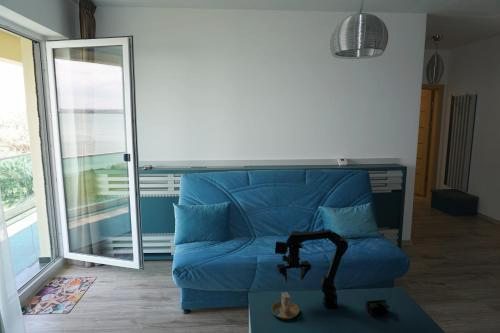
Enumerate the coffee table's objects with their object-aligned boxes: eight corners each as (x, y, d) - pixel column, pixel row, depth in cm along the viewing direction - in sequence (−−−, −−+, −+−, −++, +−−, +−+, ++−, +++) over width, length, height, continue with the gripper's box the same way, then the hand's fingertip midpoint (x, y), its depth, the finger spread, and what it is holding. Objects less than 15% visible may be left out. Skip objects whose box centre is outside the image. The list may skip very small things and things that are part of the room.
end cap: (382, 308, 178) (383, 297, 177) (389, 316, 172) (390, 304, 170) (364, 310, 178) (365, 298, 176) (370, 317, 171) (371, 305, 170)
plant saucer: (298, 323, 167) (298, 318, 166) (269, 320, 170) (269, 315, 169) (300, 307, 181) (300, 302, 181) (273, 304, 184) (273, 300, 184)
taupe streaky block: (286, 305, 178) (286, 292, 177) (289, 311, 173) (290, 296, 172) (281, 306, 177) (281, 292, 176) (284, 312, 172) (284, 297, 171)
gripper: (303, 247, 192) (303, 272, 194) (273, 250, 187) (273, 276, 190) (312, 255, 181) (311, 281, 184) (279, 259, 176) (279, 286, 179)
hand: (293, 281), depth 184 cm, fingers open, 9 cm apart
